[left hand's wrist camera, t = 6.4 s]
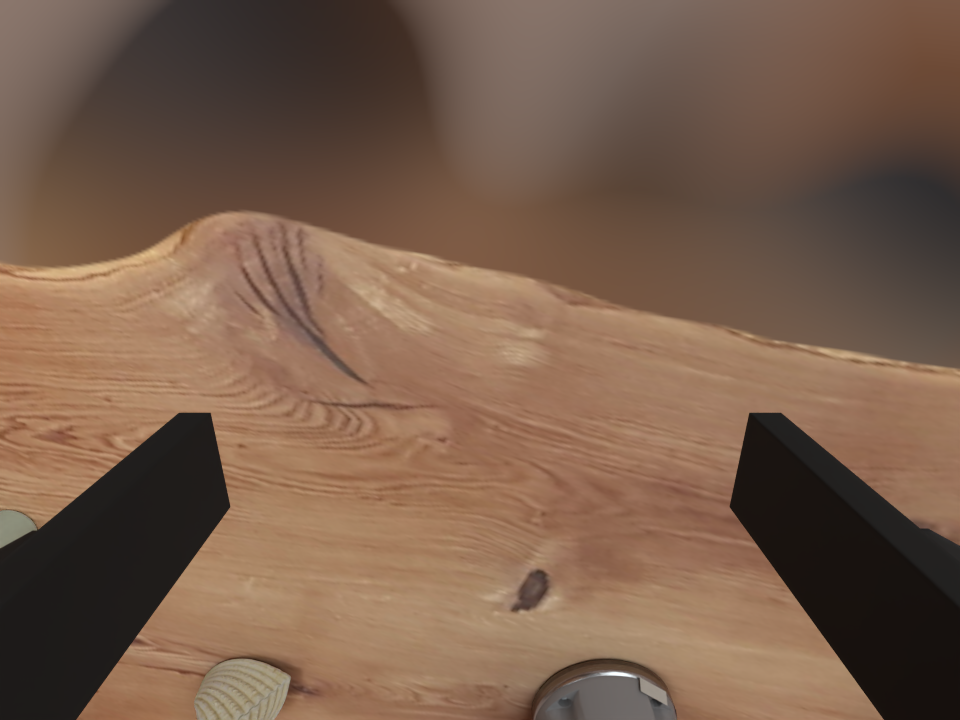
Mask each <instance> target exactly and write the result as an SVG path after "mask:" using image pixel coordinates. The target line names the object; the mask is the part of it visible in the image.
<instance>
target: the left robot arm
mask: <svg viewBox="0 0 960 720" xmlns="http://www.w3.org/2000/svg"><path fill="white" fill-rule="evenodd" d="M229 508H230V503H229V498H228V493H227V488H226V484H225V479H224V474H223V470H222V465H221V460H220V455H219V451H218V446H217V441H216V436H215V432H214V427H213V422H212V417H211V413H178V414H177V415H176V416H175V417H174V418H172V419H171V420H170V421H169V422H168V423H166V424H165V425H164V426H163V427H162V428H160V429H159V430H158V431H157V432H155V433H154V434H153V435H152V436H151V437H149V438H148V439H147V440H146V441H145V442H143V443H142V444H141V445H140V446H139V447H137V448H136V449H135V450H134V451H133V452H131V453H130V454H129V455H128V456H127V457H125V458H124V459H123V460H122V461H121V462H119V463H118V464H117V465H116V466H115V467H113V468H112V469H111V470H110V471H109V472H107V473H106V474H105V475H104V476H103V477H101V478H100V479H99V480H98V481H97V482H95V483H94V484H93V485H92V486H91V487H89V488H88V489H87V490H86V491H85V492H83V493H82V494H81V495H80V496H79V497H77V498H76V499H75V500H74V501H73V502H71V503H70V504H69V505H68V506H67V507H65V508H64V509H63V510H62V511H61V512H59V513H58V514H57V515H56V516H54V517H53V518H52V519H51V520H50V521H48V522H47V523H46V524H45V525H44V526H42V527H41V528H40V529H39V530H32V531H31V532H29V533H27V534H25V535H23V536H22V537H20V538H18V539H16V540H14V541H13V542H11V543H9V544H7V545H5V546H3V547H2V548H0V720H76V719H77V718H78V716H79V715H80V713H81V712H82V711H83V709H84V708H85V707H86V705H87V704H88V702H89V701H90V700H91V698H92V697H93V696H94V694H95V693H96V691H97V690H98V689H99V687H100V686H101V685H102V683H103V682H104V680H105V679H106V678H107V676H108V675H109V674H110V672H111V671H112V669H113V668H114V667H115V665H116V664H117V662H118V661H119V660H120V658H121V657H122V656H123V654H124V653H125V651H126V650H127V649H128V647H129V646H130V645H131V643H132V642H133V640H134V639H135V638H136V636H137V635H138V634H139V632H140V631H141V629H142V628H143V627H144V625H145V624H146V622H147V621H148V620H149V618H150V617H151V616H152V614H153V613H154V611H155V610H156V609H157V607H158V606H159V605H160V603H161V602H162V600H163V599H164V598H165V596H166V595H167V594H168V592H169V591H170V589H171V588H172V587H173V585H174V584H175V582H176V581H177V580H178V578H179V577H180V576H181V574H182V573H183V571H184V570H185V569H186V567H187V566H188V565H189V563H190V562H191V560H192V559H193V558H194V556H195V555H196V554H197V552H198V551H199V549H200V548H201V547H202V545H203V544H204V543H205V541H206V540H207V538H208V537H209V536H210V534H211V533H212V531H213V530H214V529H215V527H216V526H217V525H218V523H219V522H220V520H221V519H222V518H223V516H224V515H225V514H226V512H227V511H228V509H229ZM730 508H731V509H732V511H733V512H734V514H735V515H736V516H737V518H738V519H739V520H740V522H741V523H742V525H743V526H744V527H745V529H746V530H747V531H748V533H749V534H750V536H751V537H752V538H753V540H754V541H755V543H756V544H757V545H758V547H759V548H760V549H761V551H762V552H763V554H764V555H765V556H766V558H767V559H768V560H769V562H770V563H771V565H772V566H773V567H774V569H775V570H776V571H777V573H778V574H779V576H780V577H781V578H782V580H783V581H784V582H785V584H786V585H787V587H788V588H789V589H790V591H791V592H792V594H793V595H794V596H795V598H796V599H797V600H798V602H799V603H800V605H801V606H802V607H803V609H804V610H805V611H806V613H807V614H808V616H809V617H810V618H811V620H812V621H813V622H814V624H815V625H816V627H817V628H818V629H819V631H820V632H821V634H822V635H823V636H824V638H825V639H826V640H827V642H828V643H829V645H830V646H831V647H832V649H833V650H834V651H835V653H836V654H837V656H838V657H839V658H840V660H841V661H842V662H843V664H844V665H845V667H846V668H847V669H848V671H849V672H850V674H851V675H852V676H853V678H854V679H855V680H856V682H857V683H858V685H859V686H860V687H861V689H862V690H863V691H864V693H865V694H866V696H867V697H868V698H869V700H870V701H871V702H872V704H873V705H874V707H875V708H876V709H877V711H878V712H879V713H880V715H881V716H882V718H883V719H884V720H960V546H959V545H957V544H955V543H953V542H952V541H950V540H948V539H946V538H944V537H942V536H941V535H939V534H937V533H935V532H933V531H931V530H930V529H920V528H919V527H918V526H916V525H915V524H914V523H913V522H912V521H910V520H909V519H908V518H907V517H906V516H904V515H903V514H902V513H901V512H899V511H898V510H897V509H896V508H895V507H893V506H892V505H891V504H890V503H889V502H887V501H886V500H885V499H884V498H883V497H881V496H880V495H879V494H878V493H877V492H875V491H874V490H873V489H872V488H871V487H869V486H868V485H867V484H866V483H865V482H863V481H862V480H861V479H860V478H859V477H857V476H856V475H855V474H854V473H853V472H851V471H850V470H849V469H848V468H847V467H845V466H844V465H843V464H842V463H841V462H839V461H838V460H837V459H836V458H835V457H833V456H832V455H831V454H830V453H829V452H827V451H826V450H825V449H824V448H823V447H821V446H820V445H819V444H818V443H817V442H815V441H814V440H813V439H812V438H811V437H809V436H808V435H807V434H806V433H805V432H803V431H802V430H801V429H800V428H798V427H797V426H796V425H795V424H794V423H792V422H791V421H790V420H789V419H788V418H786V417H785V416H784V415H783V414H782V413H749V417H748V422H747V427H746V432H745V436H744V441H743V446H742V451H741V455H740V460H739V465H738V470H737V474H736V479H735V484H734V488H733V493H732V498H731V503H730ZM532 719H533V720H677V715H676V710H675V707H674V704H673V701H672V698H671V696H670V693H669V690H668V688H667V686H666V685H665V683H664V682H663V681H662V680H661V679H660V678H659V677H658V676H657V675H656V674H655V673H653V672H652V671H650V670H648V669H647V668H645V667H642V666H640V665H637V664H634V663H631V662H626V661H620V660H595V661H588V662H584V663H580V664H577V665H574V666H571V667H569V668H566V669H564V670H562V671H560V672H559V673H557V674H555V675H554V676H553V677H551V678H550V679H549V680H548V681H547V682H545V684H544V685H543V686H542V687H541V688H540V690H539V691H538V693H537V694H536V696H535V699H534V701H533V705H532Z"/></svg>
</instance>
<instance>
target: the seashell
mask: <svg viewBox="0 0 960 720" xmlns="http://www.w3.org/2000/svg"><path fill="white" fill-rule="evenodd" d="M290 680H291V676H290V675H288V674H287V673H285V672H283V671H281V670H280V669H278V668H275V667H273V666H271V665H269V664H266V663H263V662H260V661H256V660H252V659H232V660H228V661H225V662H222V663H220V664H218V665H216V666H215V667H214V668H212V669H211V670H210V671H209V672H208V673H207V674H206V676H205V677H204V679H203V681H202V683H201V686H200V688H199V691H198V693H197V695H196V697H195V701H194V707H195V709H196V714H197V720H274V719H275V718H276V716H277V715H278V713H279V712H280V710H281V708H282V706H283V704H284V702H285V699H286V696H287V693H288V688H289V684H290Z"/></svg>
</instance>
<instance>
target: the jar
mask: <svg viewBox="0 0 960 720" xmlns="http://www.w3.org/2000/svg"><path fill="white" fill-rule="evenodd" d="M32 530H37V527H36V525H35V524H34V522H33V521H32V520H31V519H30V518H28V517H27V516H26V515H24V514H22V513H20V512H17V511H13V510H3V511H0V548H2V547H3V546H5V545H7V544H9V543H11V542H13V541H14V540H16V539H18V538H20V537H22V536H23V535H25V534H27V533H29V532H31V531H32Z"/></svg>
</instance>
